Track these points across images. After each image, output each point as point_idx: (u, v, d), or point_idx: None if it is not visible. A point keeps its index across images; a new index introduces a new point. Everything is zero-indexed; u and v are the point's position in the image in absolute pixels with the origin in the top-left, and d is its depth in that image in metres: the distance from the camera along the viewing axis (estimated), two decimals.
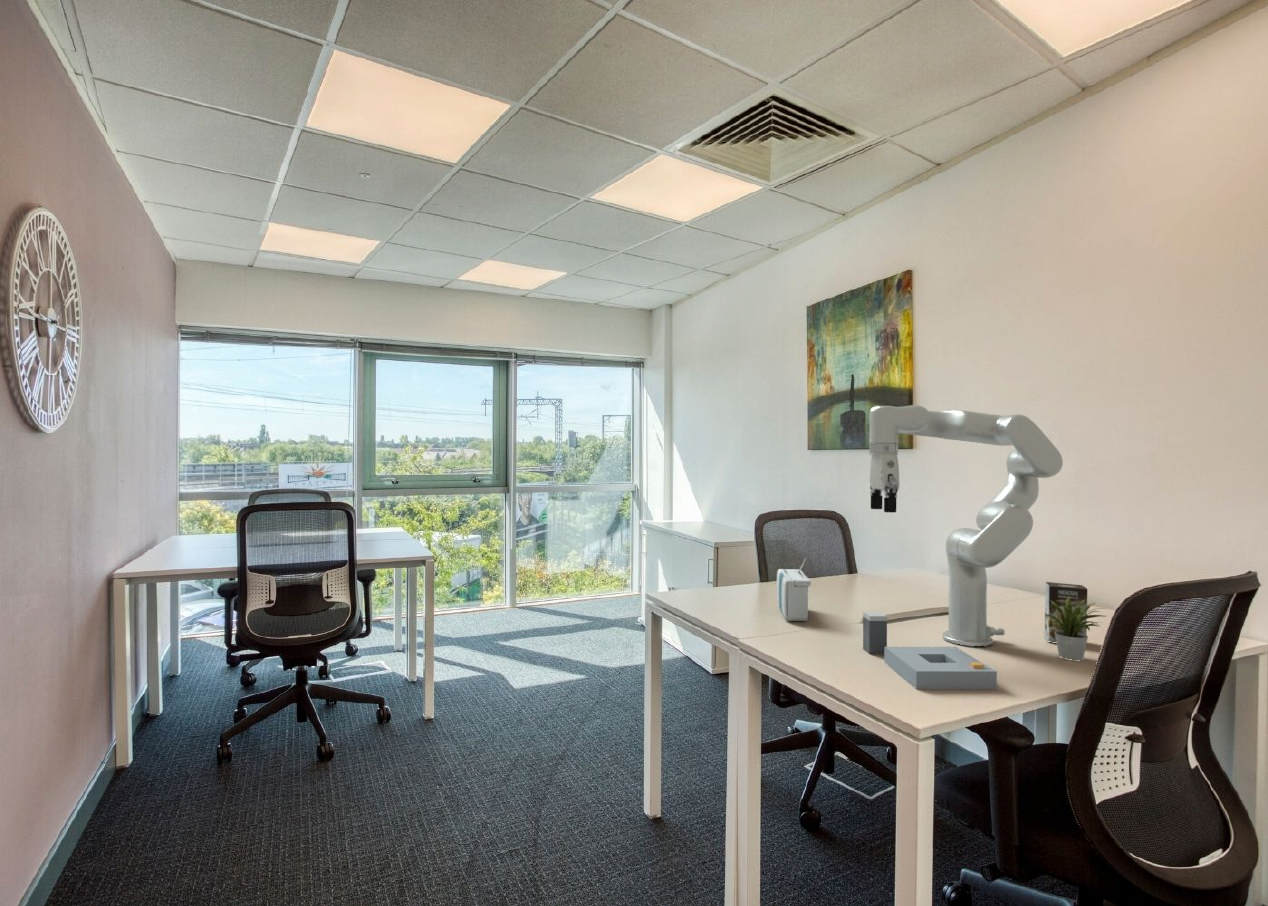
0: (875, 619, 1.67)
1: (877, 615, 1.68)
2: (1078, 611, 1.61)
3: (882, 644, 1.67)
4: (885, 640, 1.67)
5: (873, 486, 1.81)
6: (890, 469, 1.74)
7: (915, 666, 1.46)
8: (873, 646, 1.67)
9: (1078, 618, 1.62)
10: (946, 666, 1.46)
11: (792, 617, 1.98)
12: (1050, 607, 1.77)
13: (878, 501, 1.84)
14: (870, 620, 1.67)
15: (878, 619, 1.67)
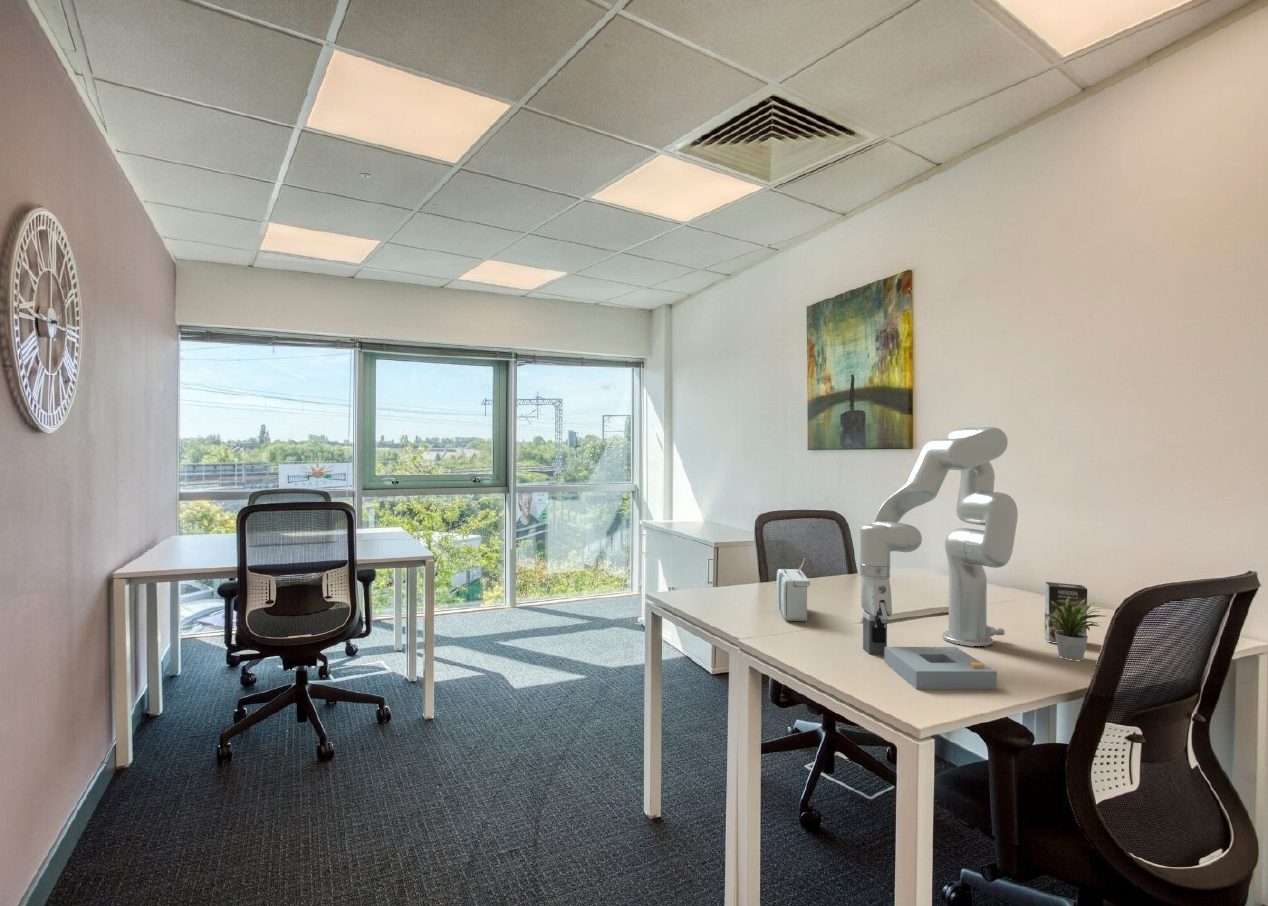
0: None
1: None
2: (1078, 611, 1.61)
3: (882, 643, 1.67)
4: (885, 640, 1.67)
5: (864, 608, 1.71)
6: (882, 595, 1.64)
7: (915, 666, 1.46)
8: (873, 646, 1.67)
9: (1078, 618, 1.62)
10: (946, 666, 1.46)
11: (791, 617, 1.98)
12: (1050, 607, 1.77)
13: None
14: (870, 620, 1.67)
15: None
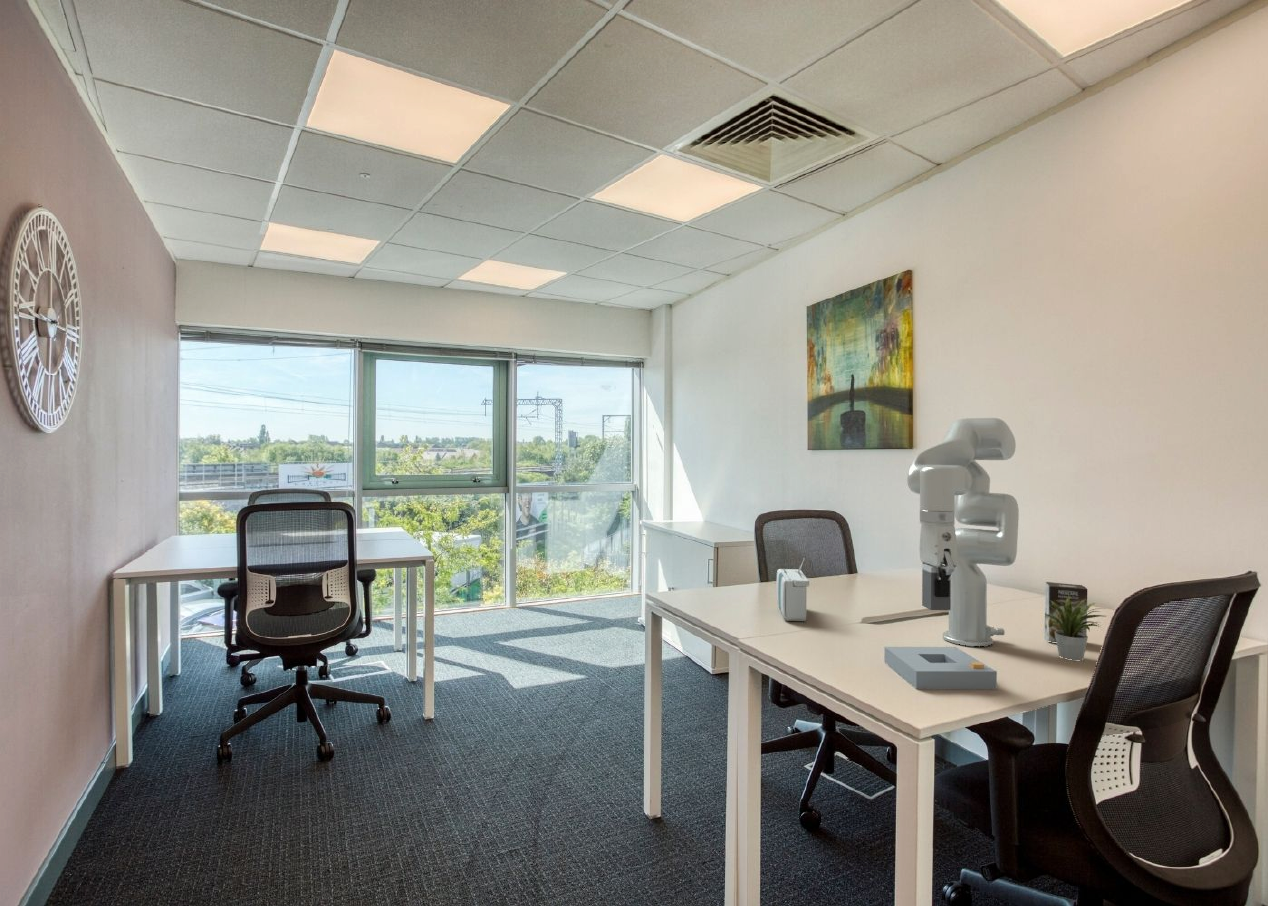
0: None
1: None
2: (1078, 611, 1.61)
3: (945, 598, 1.49)
4: (949, 594, 1.49)
5: (924, 560, 1.53)
6: (947, 543, 1.47)
7: (915, 666, 1.46)
8: (935, 601, 1.49)
9: (1078, 618, 1.62)
10: (946, 666, 1.46)
11: (790, 617, 1.98)
12: (1050, 607, 1.77)
13: None
14: (932, 572, 1.49)
15: (941, 571, 1.49)
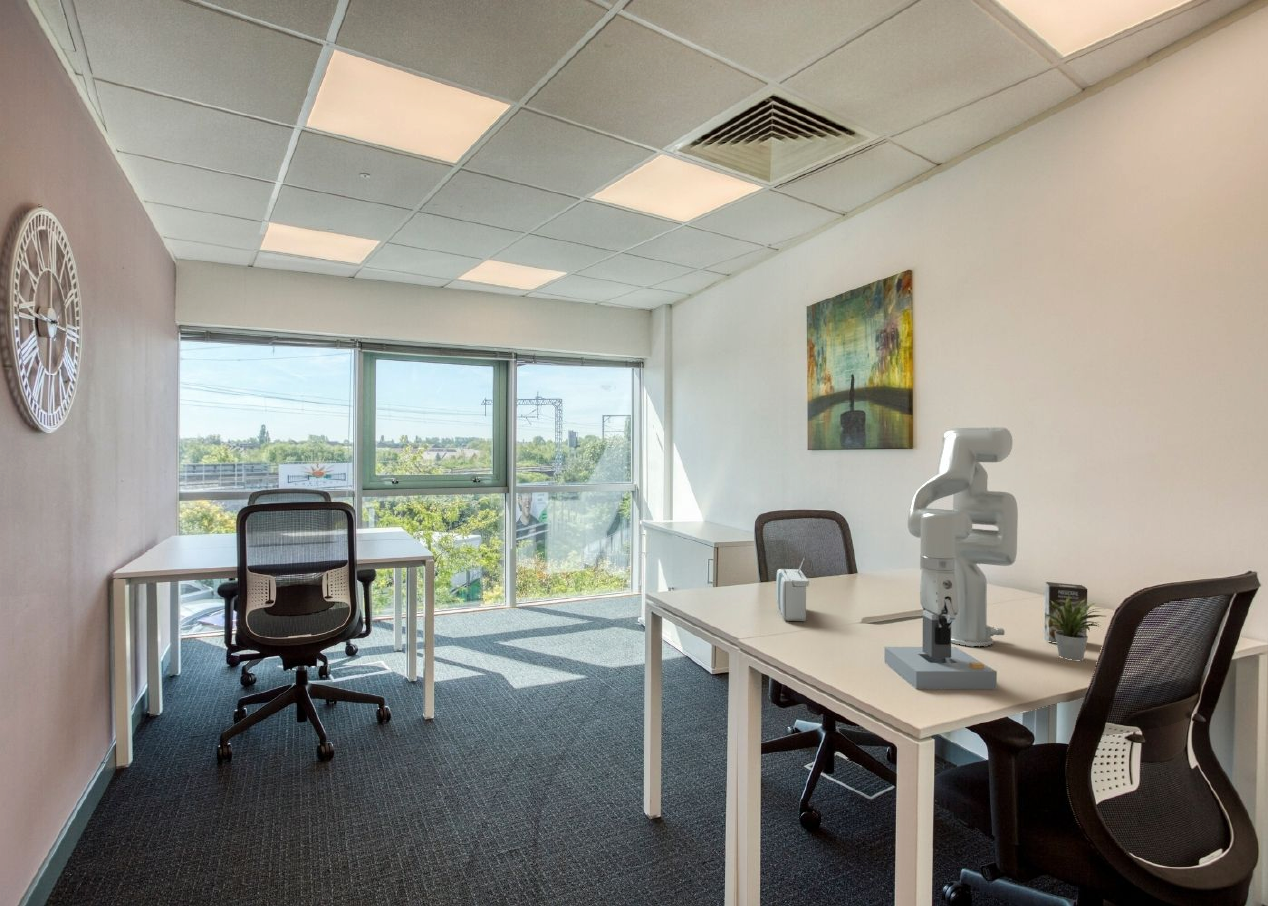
0: None
1: None
2: (1078, 611, 1.61)
3: (946, 646, 1.49)
4: None
5: (925, 606, 1.53)
6: (947, 591, 1.46)
7: (915, 666, 1.46)
8: (936, 648, 1.49)
9: (1078, 618, 1.62)
10: (946, 666, 1.46)
11: (790, 617, 1.98)
12: (1050, 607, 1.77)
13: None
14: (932, 619, 1.49)
15: (941, 618, 1.49)
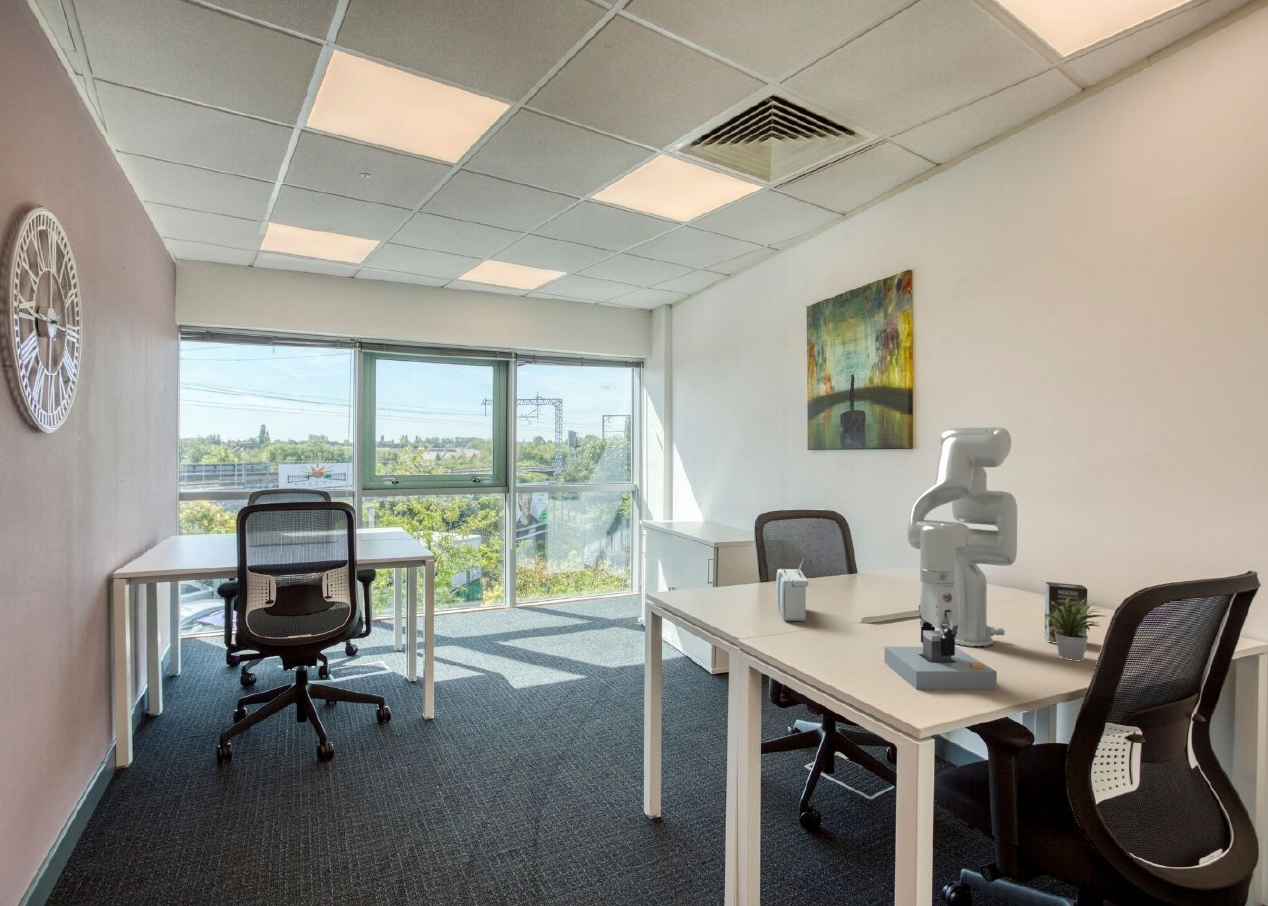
0: (938, 639, 1.49)
1: (940, 635, 1.50)
2: (1078, 611, 1.61)
3: None
4: None
5: (925, 618, 1.53)
6: (947, 604, 1.46)
7: (915, 666, 1.46)
8: None
9: (1078, 618, 1.62)
10: (946, 666, 1.46)
11: (790, 617, 1.98)
12: (1050, 607, 1.77)
13: None
14: (932, 640, 1.49)
15: None
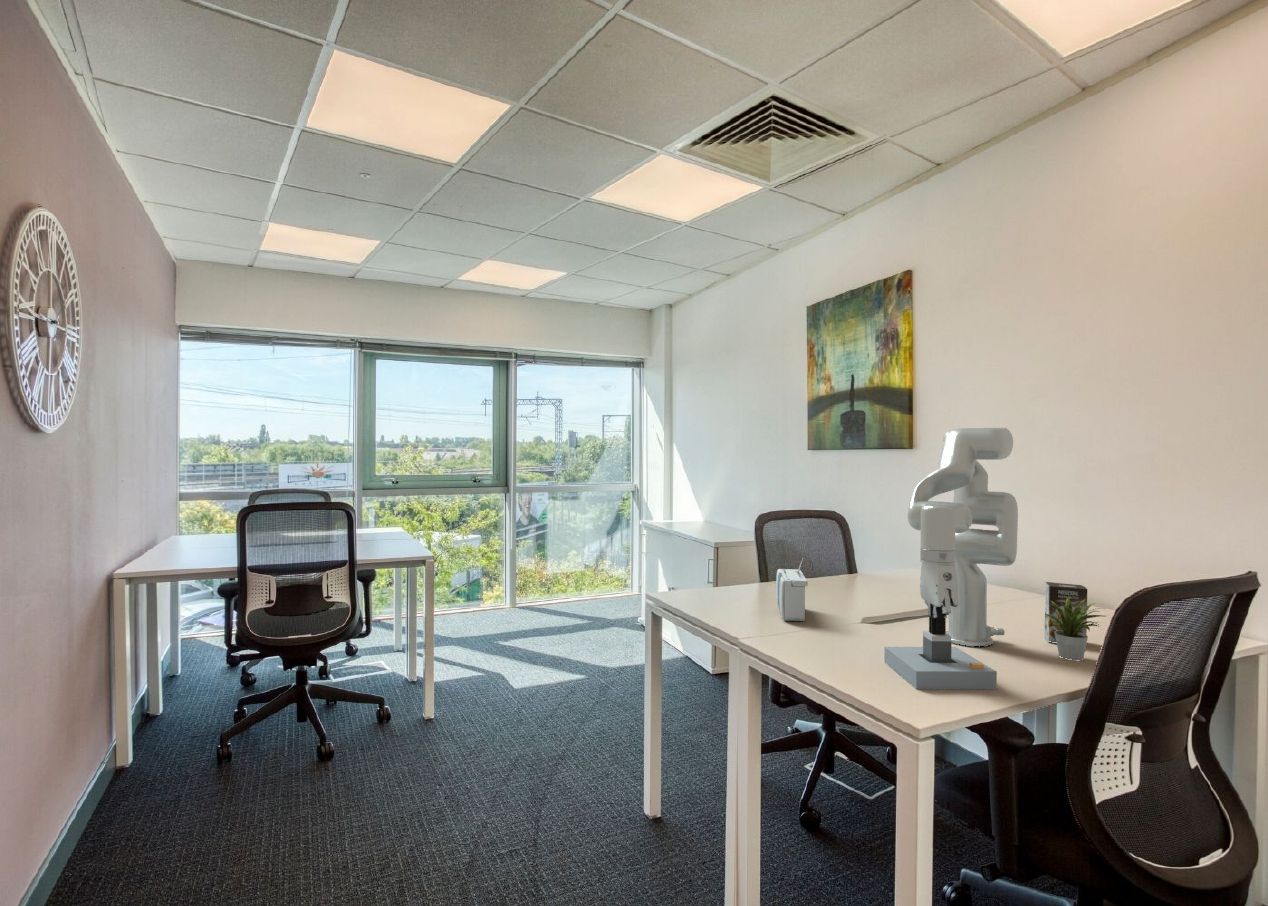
0: (938, 639, 1.49)
1: (940, 635, 1.50)
2: (1078, 611, 1.61)
3: None
4: None
5: (925, 598, 1.53)
6: (947, 583, 1.46)
7: (915, 666, 1.46)
8: None
9: (1078, 618, 1.62)
10: (946, 666, 1.46)
11: (789, 617, 1.98)
12: (1050, 607, 1.77)
13: None
14: (932, 640, 1.49)
15: (941, 639, 1.49)
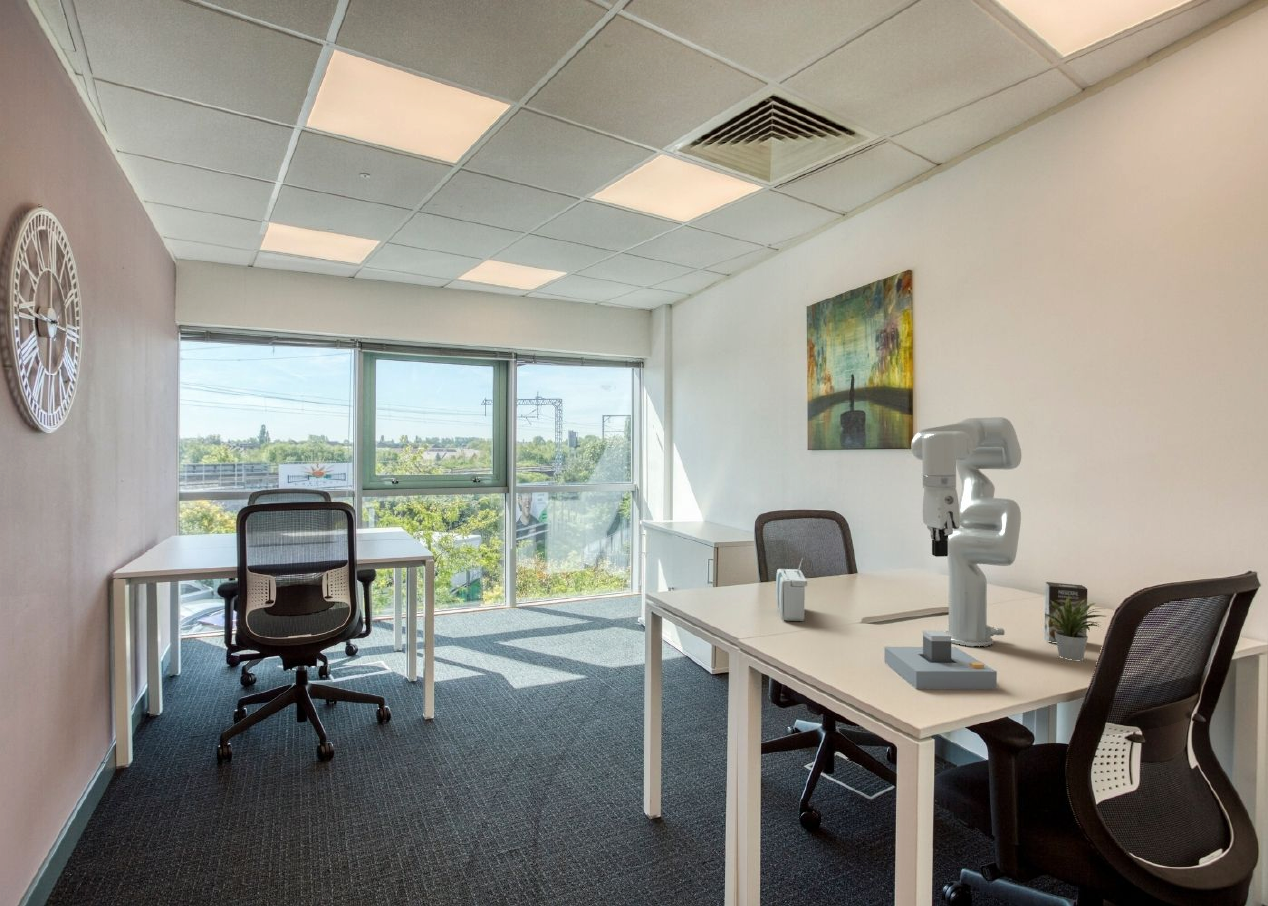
0: (938, 639, 1.49)
1: (940, 635, 1.50)
2: (1078, 611, 1.61)
3: None
4: None
5: (927, 523, 1.60)
6: (949, 506, 1.53)
7: (915, 666, 1.46)
8: None
9: (1078, 618, 1.62)
10: (946, 666, 1.46)
11: (788, 617, 1.98)
12: (1050, 607, 1.77)
13: None
14: (932, 640, 1.49)
15: (941, 639, 1.49)
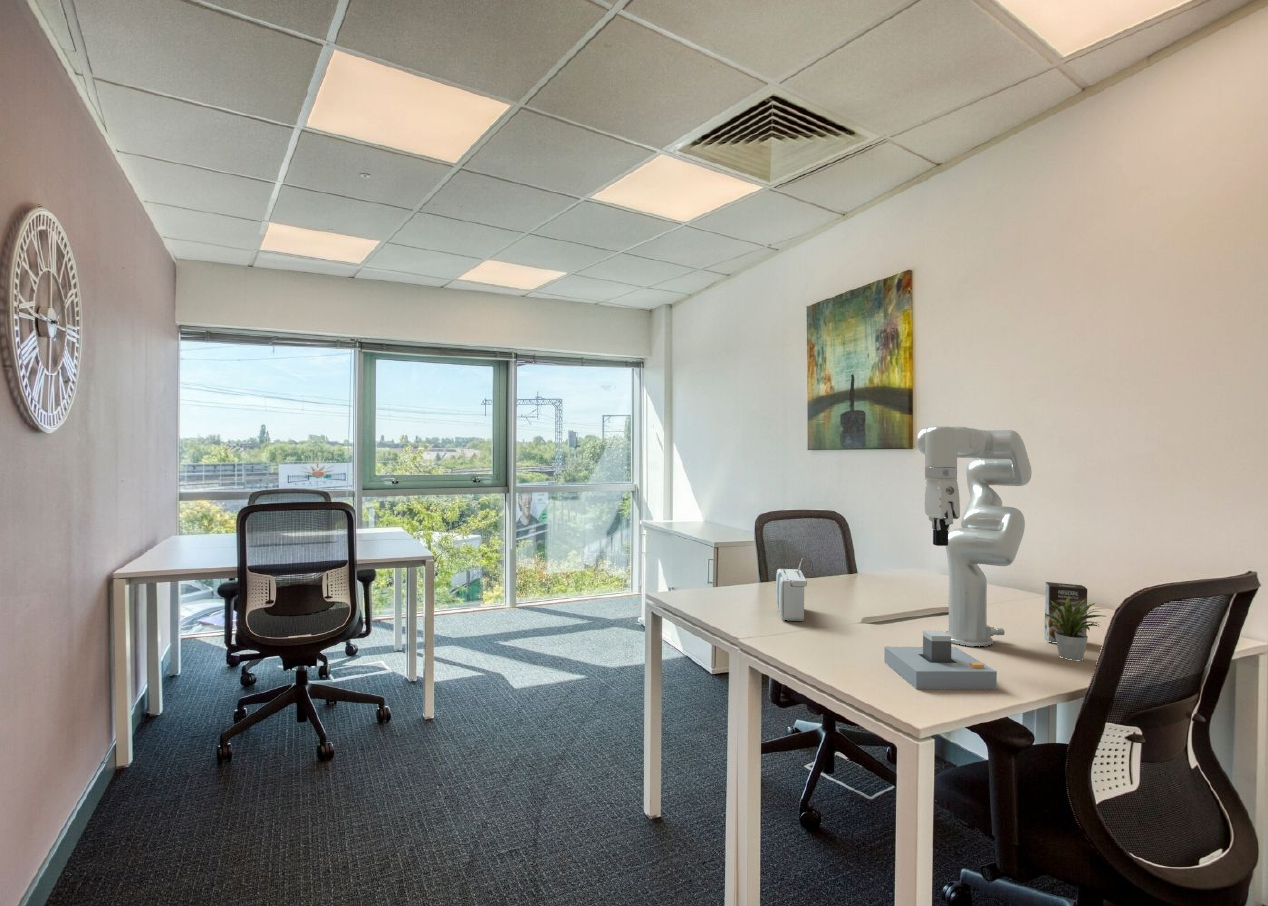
0: (938, 639, 1.49)
1: (940, 635, 1.50)
2: (1078, 611, 1.61)
3: None
4: None
5: (929, 513, 1.66)
6: (950, 496, 1.59)
7: (915, 666, 1.46)
8: None
9: (1078, 618, 1.62)
10: (946, 666, 1.46)
11: (788, 617, 1.98)
12: (1050, 607, 1.77)
13: None
14: (932, 640, 1.49)
15: (941, 639, 1.49)
